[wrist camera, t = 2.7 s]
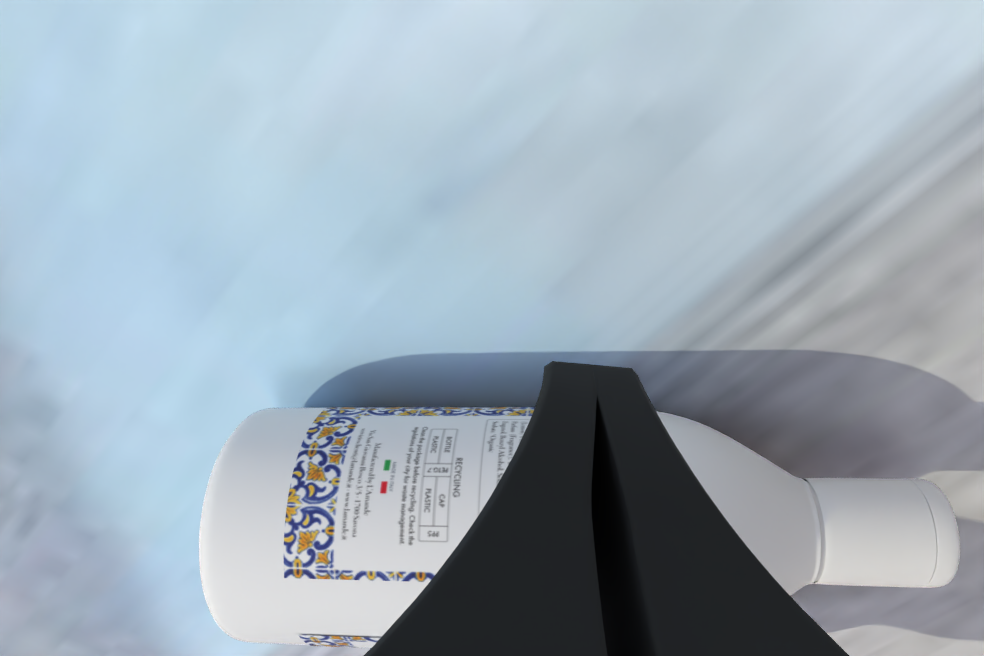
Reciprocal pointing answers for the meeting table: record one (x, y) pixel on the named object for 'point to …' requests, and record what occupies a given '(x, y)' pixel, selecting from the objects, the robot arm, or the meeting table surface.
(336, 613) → the bath foam
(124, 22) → the meeting table surface
